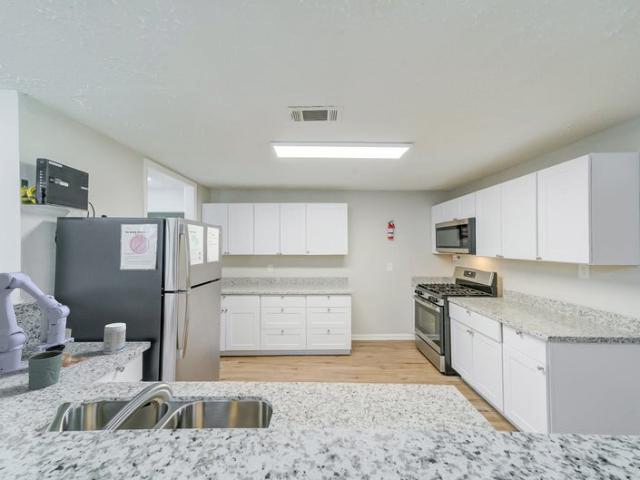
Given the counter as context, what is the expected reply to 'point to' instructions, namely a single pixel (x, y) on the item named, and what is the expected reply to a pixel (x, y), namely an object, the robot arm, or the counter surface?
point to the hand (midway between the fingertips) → (54, 361)
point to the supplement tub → (114, 338)
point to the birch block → (66, 358)
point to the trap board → (75, 360)
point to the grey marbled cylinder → (67, 335)
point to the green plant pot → (44, 369)
